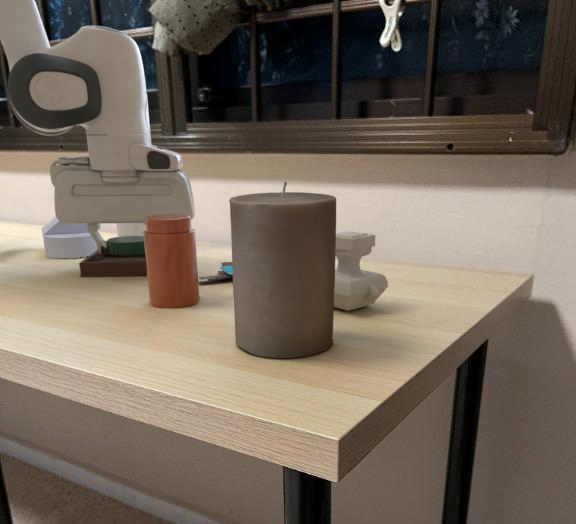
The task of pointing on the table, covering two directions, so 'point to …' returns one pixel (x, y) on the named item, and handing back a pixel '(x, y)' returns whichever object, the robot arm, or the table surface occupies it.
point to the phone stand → (221, 274)
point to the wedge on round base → (67, 240)
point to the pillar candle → (283, 272)
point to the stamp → (355, 272)
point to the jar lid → (126, 245)
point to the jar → (171, 260)
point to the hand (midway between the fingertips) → (130, 253)
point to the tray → (113, 265)
